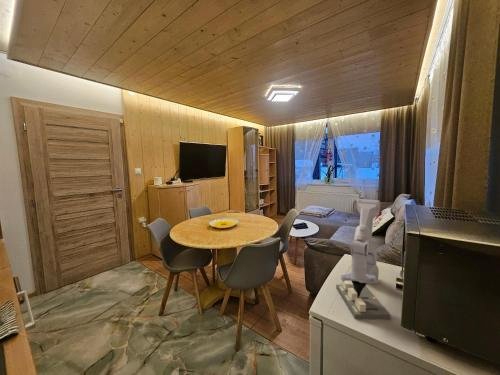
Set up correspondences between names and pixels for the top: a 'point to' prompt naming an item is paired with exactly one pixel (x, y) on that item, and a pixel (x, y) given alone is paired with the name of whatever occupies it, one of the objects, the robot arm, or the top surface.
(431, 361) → the top surface
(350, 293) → the breaker
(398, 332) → the top surface
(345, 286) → the block
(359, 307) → the block
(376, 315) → the breaker panel
